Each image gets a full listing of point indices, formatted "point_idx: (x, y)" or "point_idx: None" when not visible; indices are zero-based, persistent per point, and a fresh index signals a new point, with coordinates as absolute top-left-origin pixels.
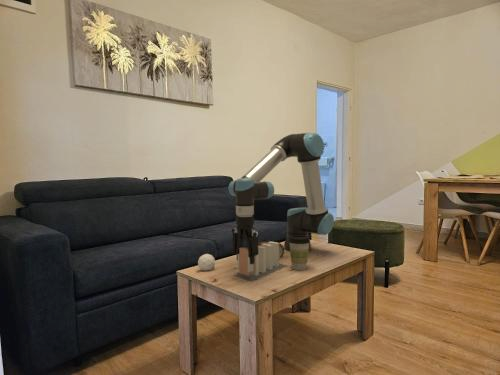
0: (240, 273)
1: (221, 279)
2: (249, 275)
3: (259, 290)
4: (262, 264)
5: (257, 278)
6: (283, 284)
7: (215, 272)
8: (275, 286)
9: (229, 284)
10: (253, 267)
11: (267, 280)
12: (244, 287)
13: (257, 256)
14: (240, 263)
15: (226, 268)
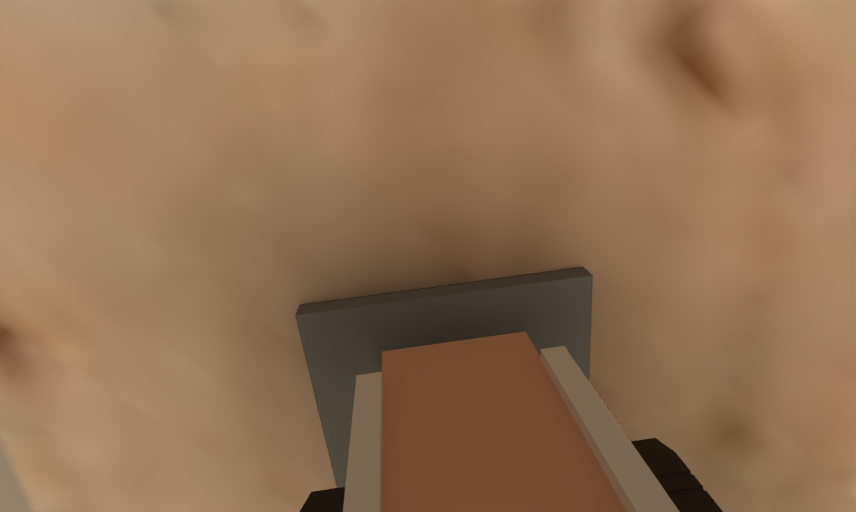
0: None
1: (645, 135)
2: None
3: (74, 230)
4: None
5: (330, 401)
6: (87, 485)
7: (840, 227)
8: (83, 410)
9: (456, 97)
10: None
11: (268, 449)
12: (258, 166)
13: None
14: (555, 421)
15: (804, 374)
